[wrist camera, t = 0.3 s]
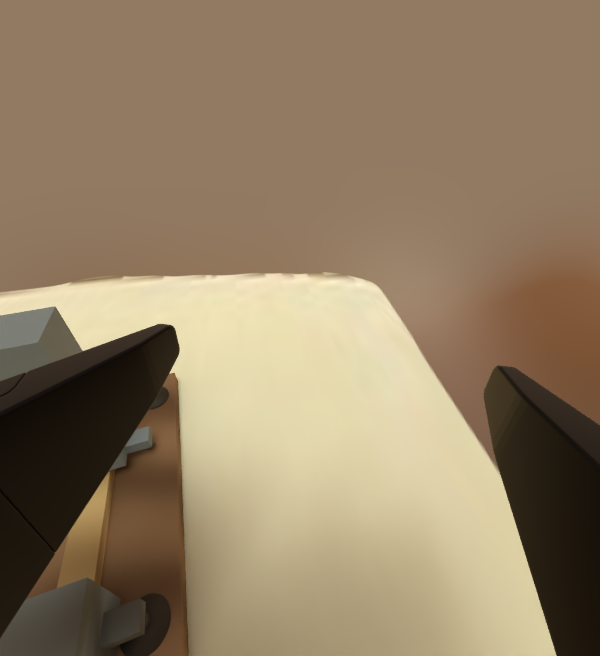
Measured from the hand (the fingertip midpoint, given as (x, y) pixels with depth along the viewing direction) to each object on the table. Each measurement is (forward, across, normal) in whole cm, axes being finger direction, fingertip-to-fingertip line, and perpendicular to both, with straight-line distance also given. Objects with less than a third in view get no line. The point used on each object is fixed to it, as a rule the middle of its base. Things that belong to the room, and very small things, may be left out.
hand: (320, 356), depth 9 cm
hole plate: (+2, +14, +16) cm, 22 cm away
